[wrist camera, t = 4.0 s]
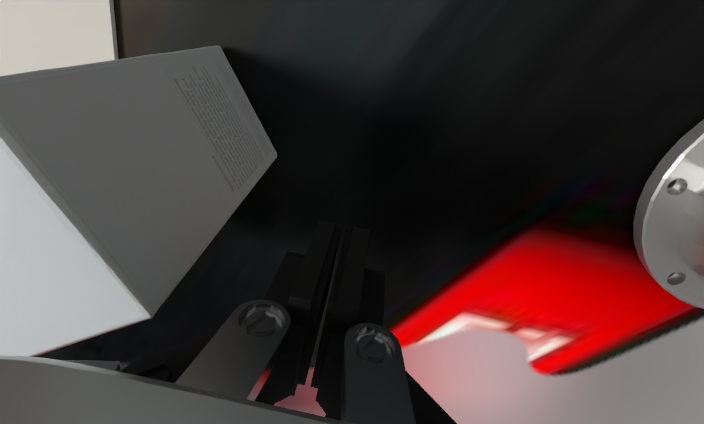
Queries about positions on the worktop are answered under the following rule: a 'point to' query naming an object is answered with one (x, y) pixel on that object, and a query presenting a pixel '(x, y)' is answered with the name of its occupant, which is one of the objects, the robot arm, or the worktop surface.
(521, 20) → the worktop surface
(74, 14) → the mat
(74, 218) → the small box
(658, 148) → the worktop surface
